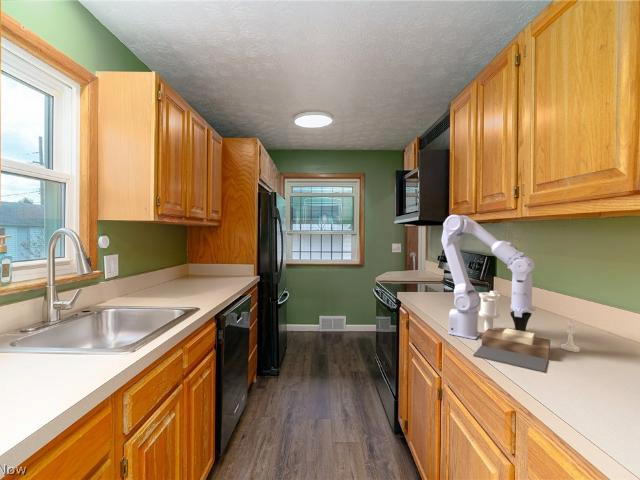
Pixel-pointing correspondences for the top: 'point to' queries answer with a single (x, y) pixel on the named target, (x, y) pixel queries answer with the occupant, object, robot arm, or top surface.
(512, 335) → the birch tile
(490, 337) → the walnut deck
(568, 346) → the chess piece
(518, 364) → the rubber mat
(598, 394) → the top surface
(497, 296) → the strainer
